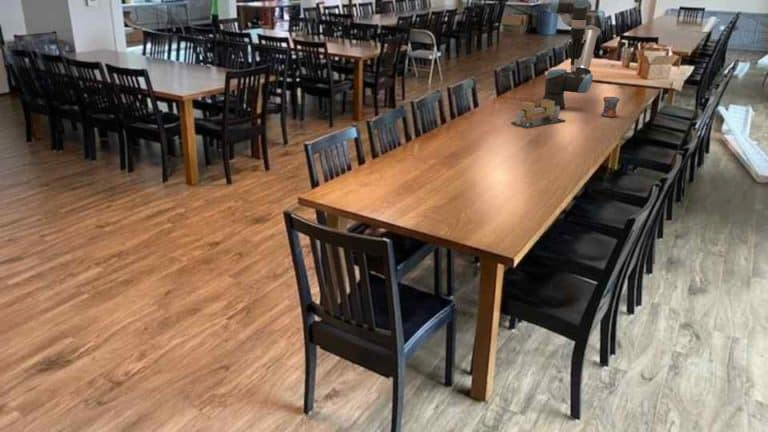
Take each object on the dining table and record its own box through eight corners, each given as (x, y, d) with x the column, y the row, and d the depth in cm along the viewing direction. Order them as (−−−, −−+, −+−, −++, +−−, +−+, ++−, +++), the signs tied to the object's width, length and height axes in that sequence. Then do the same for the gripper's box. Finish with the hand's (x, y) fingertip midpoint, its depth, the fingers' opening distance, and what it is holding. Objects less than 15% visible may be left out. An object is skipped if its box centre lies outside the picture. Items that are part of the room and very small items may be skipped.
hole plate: (511, 123, 339) (511, 121, 338) (549, 117, 353) (550, 114, 353) (526, 128, 329) (526, 125, 329) (565, 121, 344) (565, 119, 343)
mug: (614, 118, 353) (617, 100, 349) (598, 116, 358) (601, 98, 354) (620, 114, 362) (623, 97, 357) (604, 112, 367) (607, 95, 363)
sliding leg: (539, 118, 346) (541, 99, 341) (544, 117, 347) (546, 99, 343) (549, 120, 340) (551, 102, 336) (554, 119, 342) (556, 101, 338)
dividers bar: (514, 123, 336) (516, 103, 332) (553, 116, 351) (555, 97, 347) (523, 125, 331) (525, 105, 326) (562, 119, 345) (565, 100, 341)
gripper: (574, 29, 329) (569, 73, 339) (591, 27, 335) (586, 70, 345) (564, 27, 335) (559, 70, 345) (581, 26, 341) (576, 68, 351)
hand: (572, 70), depth 345 cm, fingers closed
